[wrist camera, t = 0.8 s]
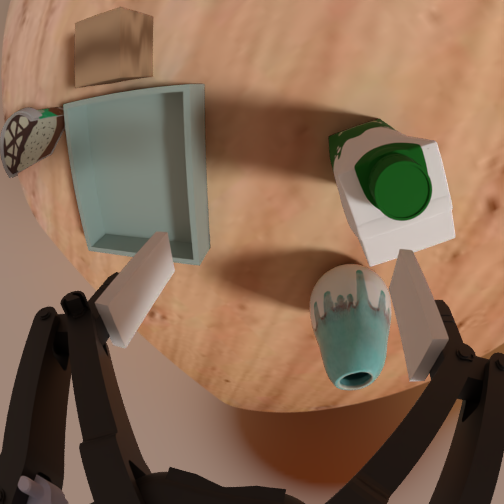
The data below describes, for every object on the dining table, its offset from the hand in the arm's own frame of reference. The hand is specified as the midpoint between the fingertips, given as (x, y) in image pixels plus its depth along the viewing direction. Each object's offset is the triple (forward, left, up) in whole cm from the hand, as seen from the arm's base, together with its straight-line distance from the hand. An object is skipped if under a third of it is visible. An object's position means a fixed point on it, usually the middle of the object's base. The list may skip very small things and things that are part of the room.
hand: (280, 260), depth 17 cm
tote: (+2, -22, -24) cm, 32 cm away
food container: (-7, -40, -24) cm, 47 cm away
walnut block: (-16, -23, -24) cm, 36 cm away
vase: (+18, +9, -24) cm, 31 cm away
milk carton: (-2, +8, -24) cm, 25 cm away
